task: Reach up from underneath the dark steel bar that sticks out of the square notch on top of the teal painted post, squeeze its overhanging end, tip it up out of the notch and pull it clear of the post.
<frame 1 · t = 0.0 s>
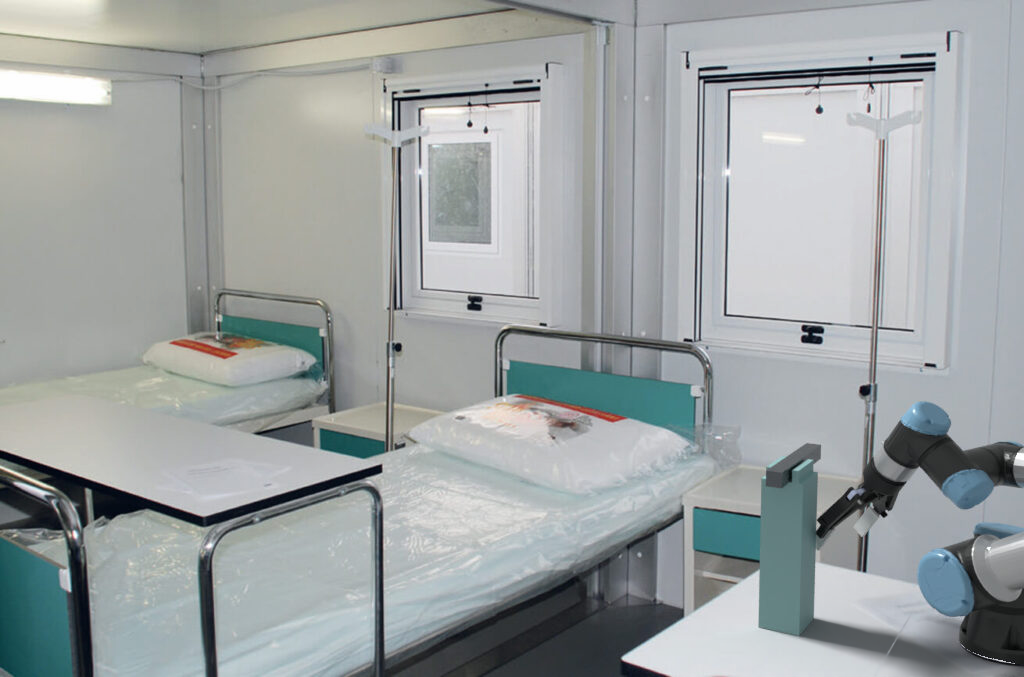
hand: (836, 538, 202), 15 cm above the table, tool tilted 35°, fingers open, 12 cm apart
steel bar: (794, 471, 196), point 30 cm above the table, touching notched post
notched post: (786, 622, 197), on the table
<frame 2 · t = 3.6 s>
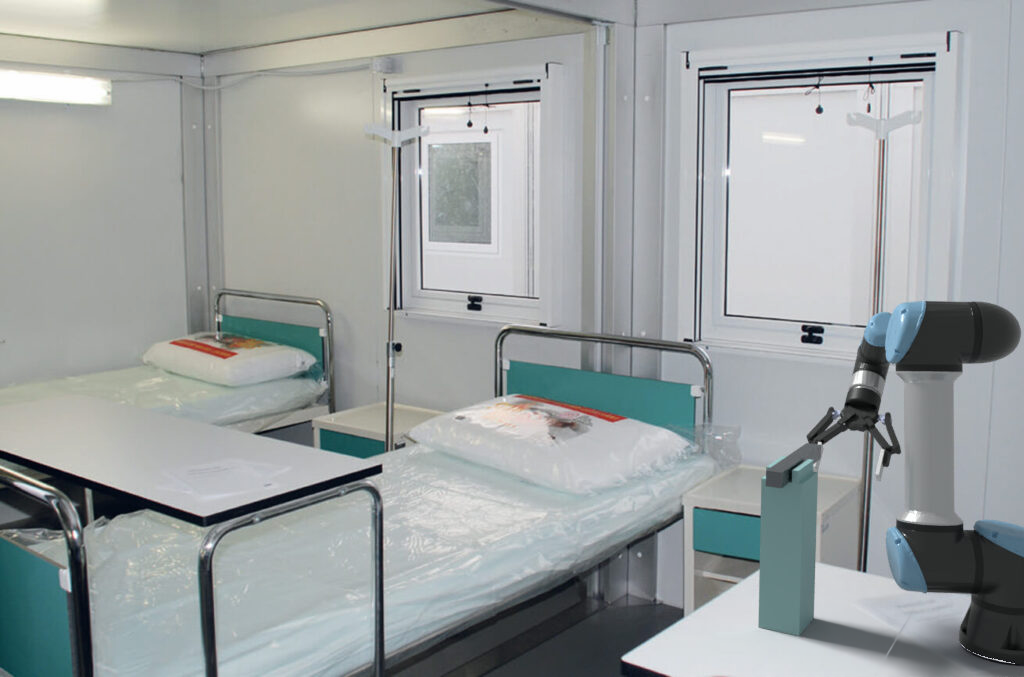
hand: (845, 473, 218), 24 cm above the table, tool tilted 45°, fingers open, 13 cm apart
nothing on the table moved.
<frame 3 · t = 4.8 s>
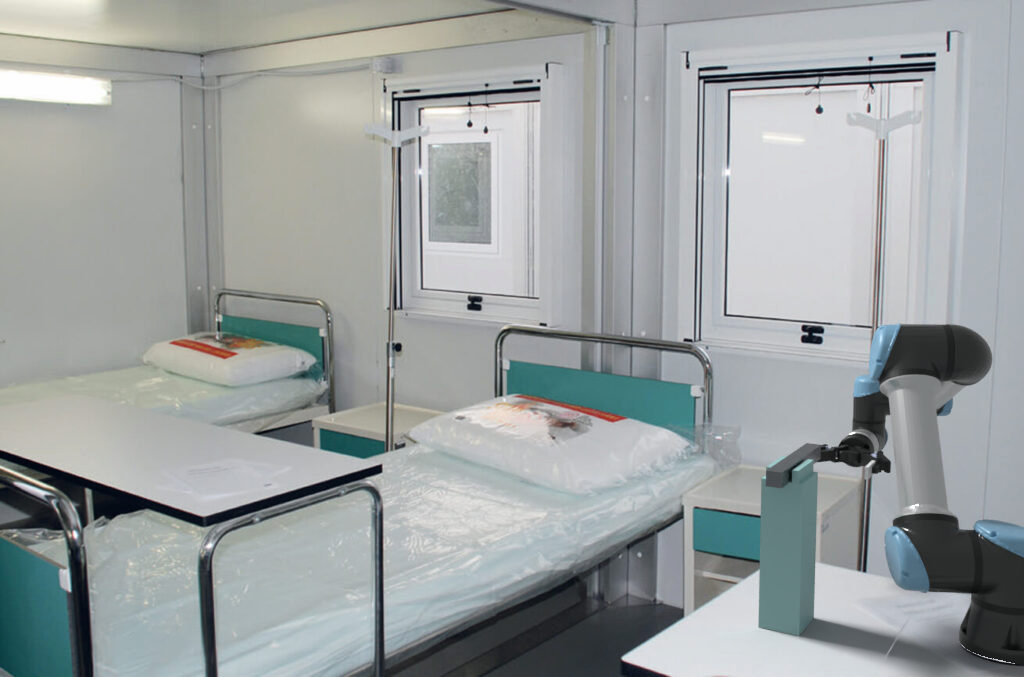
hand: (833, 469, 216), 25 cm above the table, tool horizontal, fingers open, 13 cm apart
nothing on the table moved.
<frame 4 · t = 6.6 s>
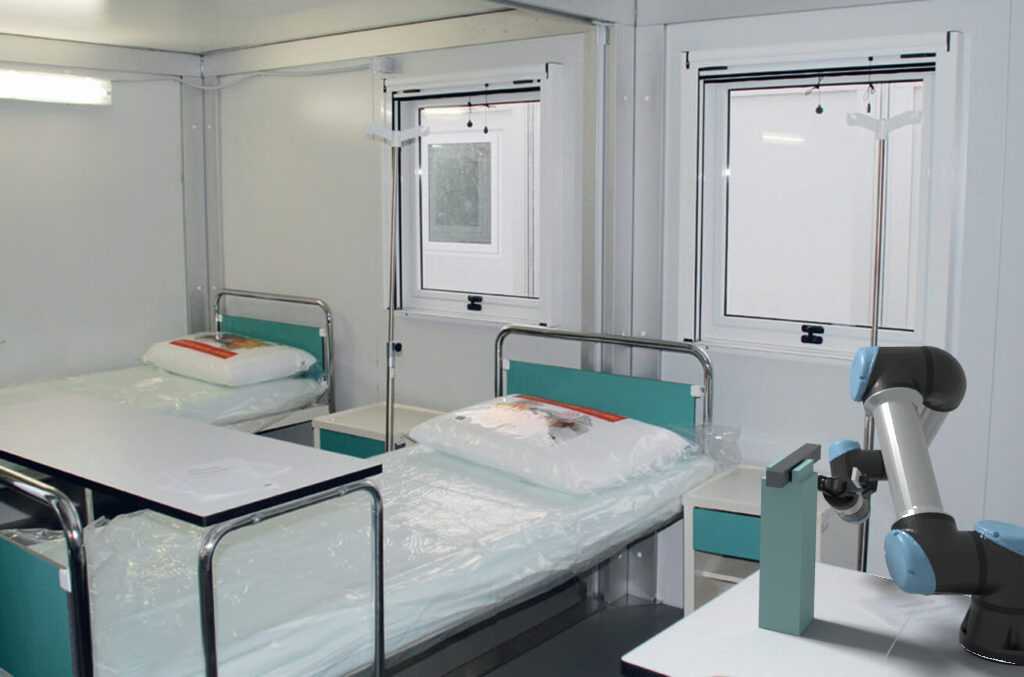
hand: (821, 469, 212), 26 cm above the table, tool pointing upward, fingers open, 13 cm apart
nothing on the table moved.
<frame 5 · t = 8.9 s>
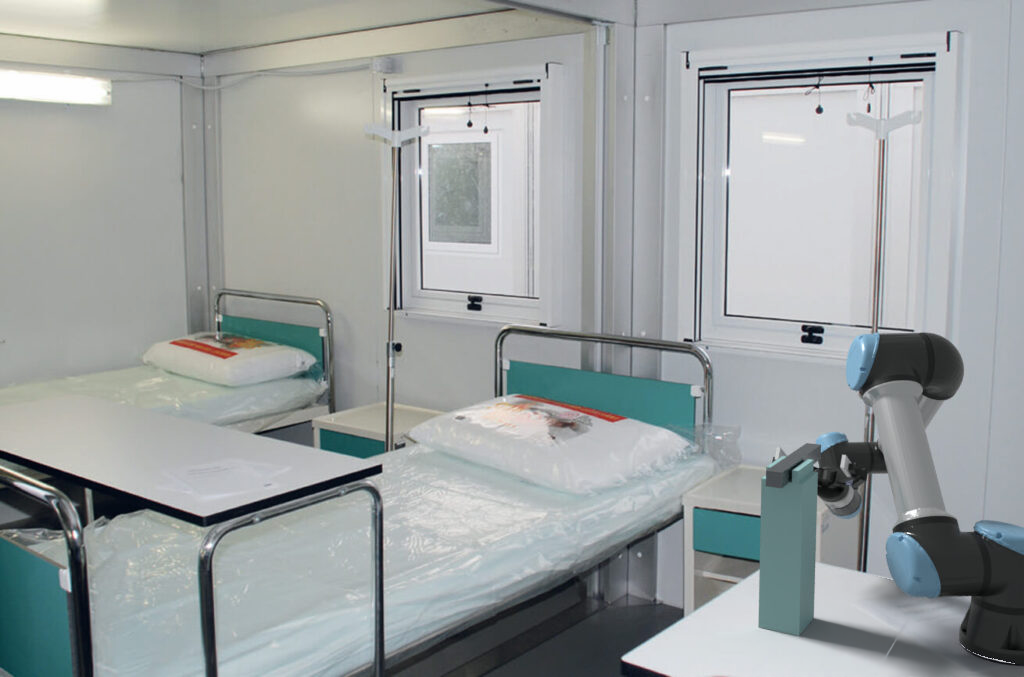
hand: (809, 457, 206), 30 cm above the table, tool pointing upward, fingers open, 13 cm apart
nothing on the table moved.
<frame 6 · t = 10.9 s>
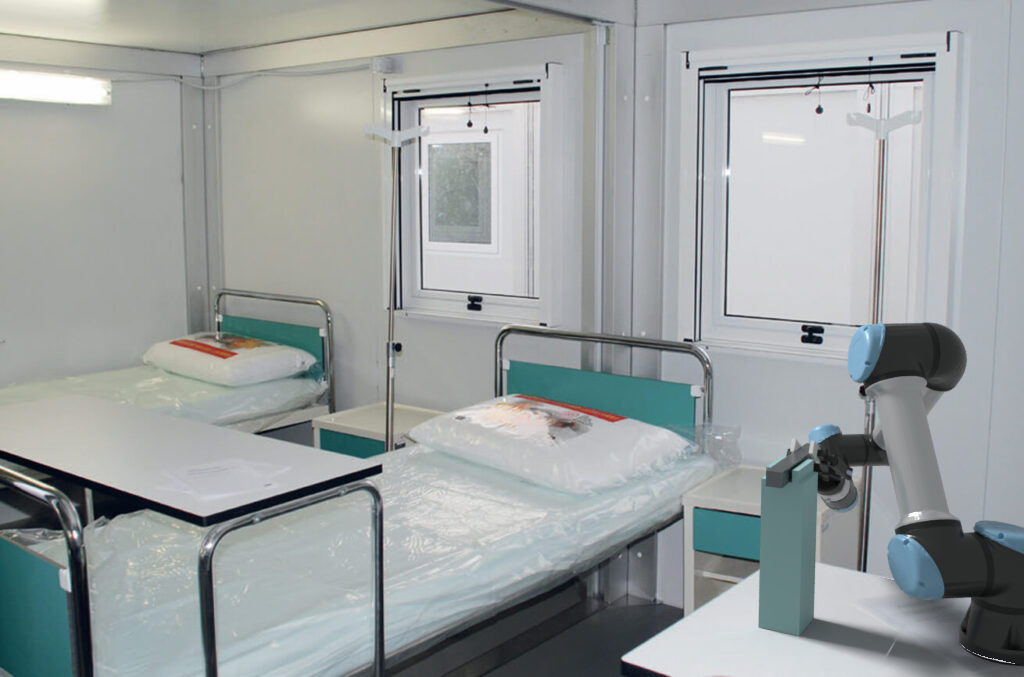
hand: (802, 446, 200), 34 cm above the table, tool pointing upward, fingers closed on steel bar, 3 cm apart
steel bar: (794, 471, 196), point 30 cm above the table, touching gripper, notched post
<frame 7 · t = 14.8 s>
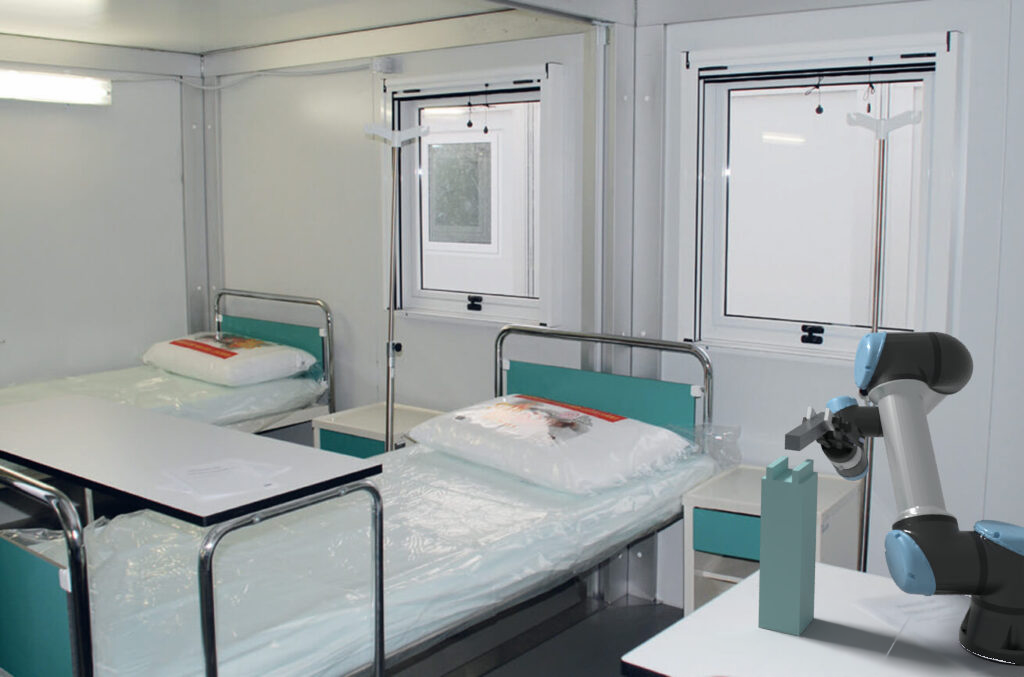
hand: (817, 413, 210), 39 cm above the table, tool pointing upward, fingers closed on steel bar, 3 cm apart
steel bar: (810, 437, 207), point 34 cm above the table, touching gripper
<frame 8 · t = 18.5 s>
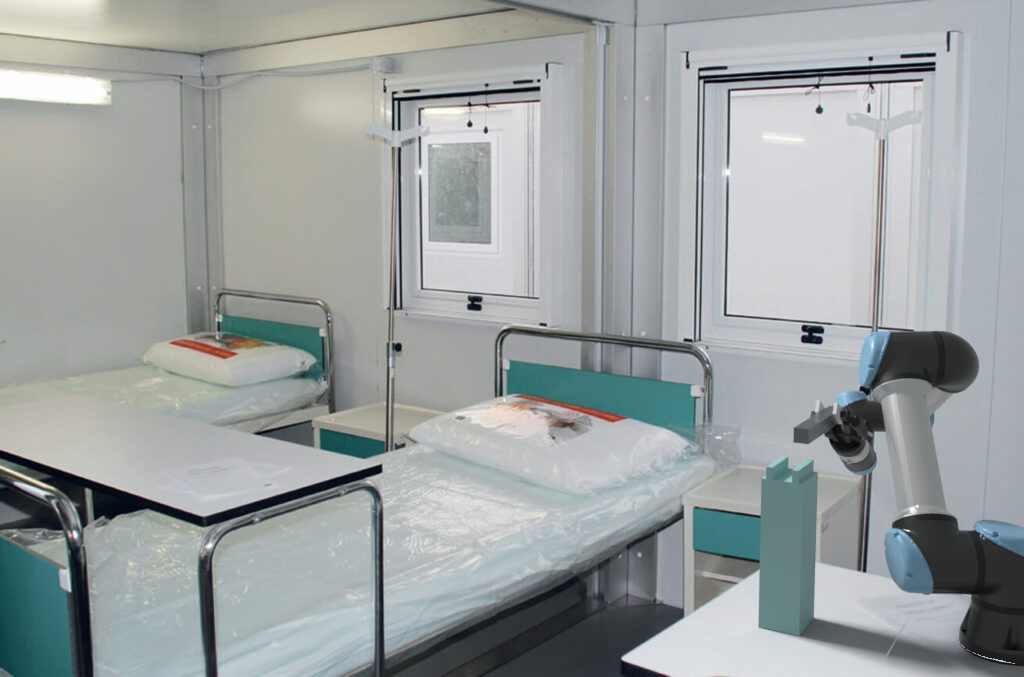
hand: (826, 407, 211), 40 cm above the table, tool pointing upward, fingers closed on steel bar, 3 cm apart
steel bar: (819, 431, 207), point 35 cm above the table, touching gripper
at the end: steel bar moved 15.8 cm from its start; steel bar touching gripper; the gripper is holding steel bar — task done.
